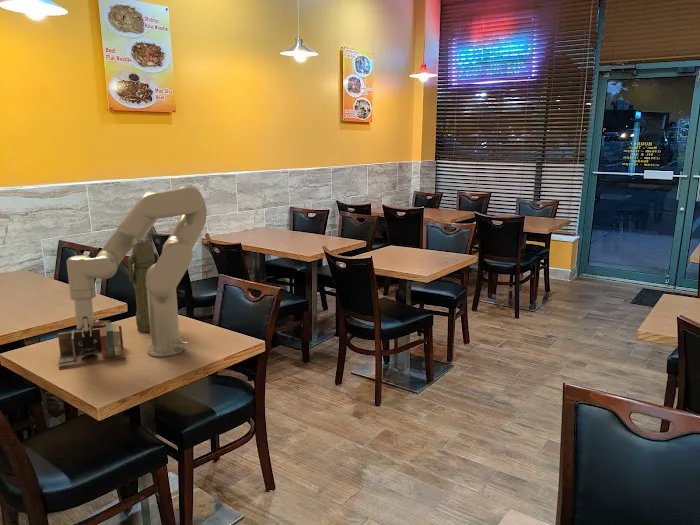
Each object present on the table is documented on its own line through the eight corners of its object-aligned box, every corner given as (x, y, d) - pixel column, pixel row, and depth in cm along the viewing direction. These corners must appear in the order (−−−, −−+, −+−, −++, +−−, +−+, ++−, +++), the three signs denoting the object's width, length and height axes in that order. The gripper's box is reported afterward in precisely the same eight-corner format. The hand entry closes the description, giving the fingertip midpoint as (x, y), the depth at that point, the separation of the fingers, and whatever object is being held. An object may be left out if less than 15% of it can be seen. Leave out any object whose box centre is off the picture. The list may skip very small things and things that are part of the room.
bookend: (76, 351, 187) (74, 330, 186) (76, 361, 179) (73, 338, 178) (60, 354, 185) (57, 332, 183) (59, 363, 177) (56, 340, 176)
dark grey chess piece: (102, 350, 185) (98, 317, 182) (89, 356, 179) (85, 322, 177) (88, 348, 187) (85, 315, 184) (75, 354, 181) (71, 320, 179)
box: (105, 344, 197) (103, 325, 195) (89, 344, 197) (87, 325, 195) (113, 338, 203) (111, 320, 201) (97, 338, 203) (95, 320, 201)
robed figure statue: (168, 327, 216) (162, 240, 208) (143, 335, 206) (135, 245, 198) (154, 322, 220) (148, 238, 213) (129, 331, 211) (121, 242, 203)
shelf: (123, 346, 195) (120, 319, 193) (125, 359, 184) (122, 331, 182) (60, 355, 187) (57, 327, 185) (59, 369, 175) (55, 340, 173)
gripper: (70, 288, 184) (76, 338, 188) (69, 301, 169) (75, 355, 173) (94, 285, 188) (99, 334, 192) (95, 298, 172) (101, 351, 176)
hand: (88, 344), depth 182 cm, fingers closed on dark grey chess piece, 5 cm apart
